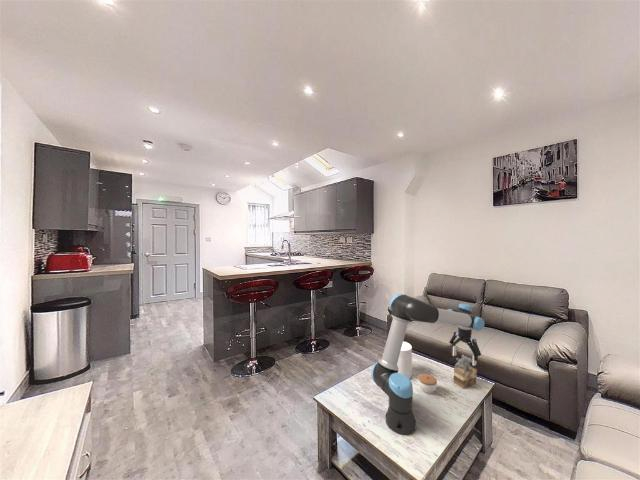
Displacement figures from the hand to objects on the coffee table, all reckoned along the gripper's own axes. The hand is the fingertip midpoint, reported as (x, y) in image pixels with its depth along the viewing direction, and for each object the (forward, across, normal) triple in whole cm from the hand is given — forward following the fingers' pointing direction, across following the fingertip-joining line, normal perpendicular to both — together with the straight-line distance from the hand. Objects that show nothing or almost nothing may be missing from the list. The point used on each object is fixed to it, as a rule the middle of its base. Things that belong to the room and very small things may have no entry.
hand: (464, 360), depth 162 cm
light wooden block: (+11, 0, -1) cm, 11 cm away
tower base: (+16, 0, -1) cm, 16 cm away
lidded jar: (+16, +5, +27) cm, 32 cm away
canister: (+16, +27, +29) cm, 43 cm away
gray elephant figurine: (+6, 0, -1) cm, 6 cm away
